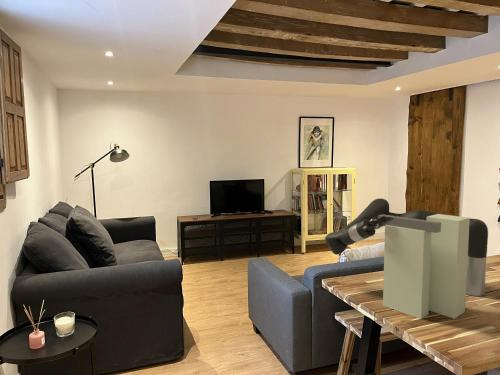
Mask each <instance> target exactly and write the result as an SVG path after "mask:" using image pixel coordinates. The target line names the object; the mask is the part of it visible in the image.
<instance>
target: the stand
mask: <svg viewBox="0 0 500 375" xmlns="http://www.w3.org/2000/svg"><path fill="white" fill-rule="evenodd" d="M470 219H471V217H465V216H459V215H452V214H451V215H449V214H444V215H443V213H440V214H436V215H432V216H428V217H427V221H434V222H441V232H438V233H433V232H432V234H431V259H430V285H429V310H428V312H429V311H430V312H433V313H434V314H435V313H436V314H439V315H442V316H445V317H446V318H447V317H448V318H452V319H456V318H458V317H459V316H461V315H462V314H463V313H465V312H466V297H467V294H466V281H467V261H468V241H469V220H470Z"/></svg>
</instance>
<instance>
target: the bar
mask: <svg viewBox="0 0 500 375" xmlns="http://www.w3.org/2000/svg"><path fill="white" fill-rule="evenodd" d="M383 216H386V218H387V221H386V222H384V223H381V224H384V225H390V226H396V227H402V228H408V229H415V230H421V231H427V232H433V233H438V232H441V222H434V221H427V220H420V219H413V218H405V217H398V216H391V215H383V214H382V215H378V219H379V218H381V217H383Z"/></svg>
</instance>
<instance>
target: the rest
mask: <svg viewBox="0 0 500 375" xmlns="http://www.w3.org/2000/svg"><path fill="white" fill-rule="evenodd" d="M431 234H432V232H427V231H421V230H415V229H408V228H402V227H396V226H390V225H385V226H384V249H383V250H384V252H383V254H384V255H383V257H384V258H383V288H382V290H383V291H382V292H383V293H382V307H385V308H388V307H389V308H388V309H390V310H393V309H394V311H396V310H397V311H396V312H400V313H402V314H406V315H408V316H410V317H414V318H417V319H419V320H422V319H424V318H425V317H427V316H428V315H429V285H430V259H431Z"/></svg>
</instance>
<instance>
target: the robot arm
mask: <svg viewBox="0 0 500 375" xmlns="http://www.w3.org/2000/svg"><path fill="white" fill-rule="evenodd" d="M382 214H383V215H391V216H398V217H405V218H413V219H420V220H427V217H428V216H432V215H436V214H441V213H439V212H435V211H430V210H424V209H415V210H410V211H407V212H401V213H397V212H396V213H395V212H391V211H390V202H389V201H388V200H387V199H385V198H376V199H373V200H372V201H370V203H369V204H368V205H367V206H366V207H365V208H364V209H363V210H362V211H361V213H360V214H358V216H357V217H356V218H354V219H353V220H352V221H350V222H349V223H348V224H346V226H344V227H342V228H341V230H340V231H332V232H329V233H328V234H326V235H325V237H324V241H325V243H326V245H327V246H328V248H329V249H330V251H331V252H332V253H333V254H334V255H336V256H337V255H341V254H343V253H344V252H345V251H346V249H347V248H348V246H351V245H354V244H355V243H357V242H361V241H363V240H366V239H368V238H370V237H371V238H372V237H373V236H375V234H376V230H380V229H381V228H383V227H385V225H384V224H381V223H384V222H386V221H387V218H386V216H383V217H381V218H379V219H378V215H382ZM442 214H443V213H442ZM443 215H445V213H444V214H443ZM488 240H489V228H488V226H487V224H486V222H484V221H483V220H481V219H478V218H470V220H469V241H468V261H467V281H466V295H469V296H472V297H473V296H474V297H483V296H485V293H486V292H485V291H486V274H487V256H488V243H489V242H488Z"/></svg>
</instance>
